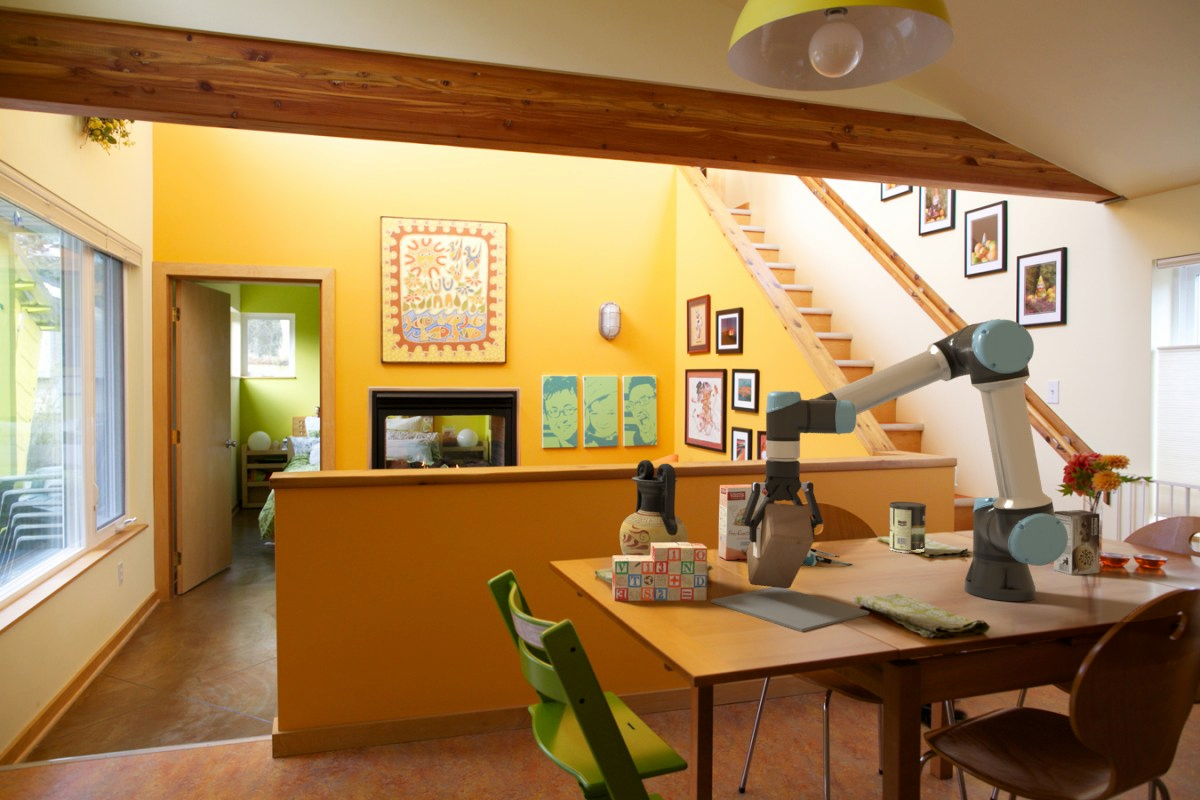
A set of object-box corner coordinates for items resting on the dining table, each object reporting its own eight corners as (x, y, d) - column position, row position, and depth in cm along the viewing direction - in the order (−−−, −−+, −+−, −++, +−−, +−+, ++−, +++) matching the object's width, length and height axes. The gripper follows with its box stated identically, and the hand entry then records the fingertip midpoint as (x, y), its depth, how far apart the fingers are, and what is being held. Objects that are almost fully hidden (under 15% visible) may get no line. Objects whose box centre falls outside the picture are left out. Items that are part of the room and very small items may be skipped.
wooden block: (790, 590, 183) (815, 542, 169) (748, 586, 183) (769, 537, 169) (785, 554, 190) (809, 504, 176) (745, 550, 190) (765, 500, 176)
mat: (869, 614, 169) (869, 611, 169) (801, 631, 156) (801, 628, 156) (776, 588, 190) (776, 586, 190) (710, 602, 178) (710, 599, 178)
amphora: (701, 582, 196) (702, 462, 195) (651, 593, 185) (652, 466, 185) (654, 569, 210) (655, 457, 209) (604, 578, 199) (605, 460, 199)
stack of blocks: (614, 601, 178) (614, 547, 178) (611, 594, 184) (612, 542, 184) (707, 600, 179) (707, 547, 179) (701, 593, 186) (702, 541, 186)
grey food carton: (1079, 568, 215) (1080, 509, 215) (1100, 573, 209) (1101, 513, 209) (1052, 569, 213) (1053, 510, 213) (1071, 575, 207) (1072, 514, 206)
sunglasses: (786, 556, 228) (789, 539, 228) (836, 563, 229) (838, 546, 229) (801, 567, 214) (804, 549, 214) (854, 574, 215) (857, 556, 215)
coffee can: (922, 547, 241) (922, 502, 241) (928, 554, 231) (928, 507, 231) (886, 546, 244) (887, 500, 243) (891, 552, 234) (891, 505, 233)
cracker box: (726, 561, 220) (727, 487, 220) (717, 556, 226) (718, 484, 226) (771, 558, 224) (772, 485, 224) (761, 554, 230) (762, 483, 229)
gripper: (825, 457, 182) (824, 551, 183) (727, 458, 179) (726, 553, 180) (839, 460, 175) (838, 558, 175) (737, 461, 172) (736, 560, 172)
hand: (781, 556), depth 177 cm, fingers closed on wooden block, 11 cm apart
